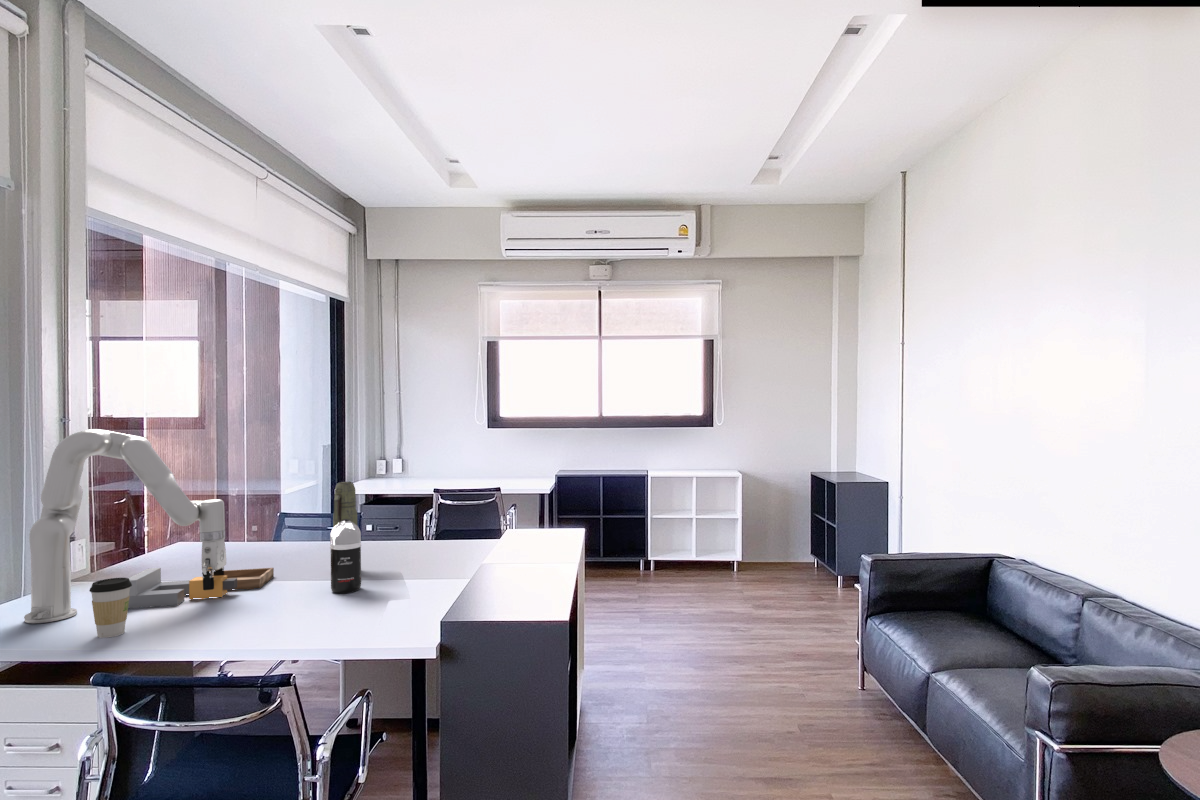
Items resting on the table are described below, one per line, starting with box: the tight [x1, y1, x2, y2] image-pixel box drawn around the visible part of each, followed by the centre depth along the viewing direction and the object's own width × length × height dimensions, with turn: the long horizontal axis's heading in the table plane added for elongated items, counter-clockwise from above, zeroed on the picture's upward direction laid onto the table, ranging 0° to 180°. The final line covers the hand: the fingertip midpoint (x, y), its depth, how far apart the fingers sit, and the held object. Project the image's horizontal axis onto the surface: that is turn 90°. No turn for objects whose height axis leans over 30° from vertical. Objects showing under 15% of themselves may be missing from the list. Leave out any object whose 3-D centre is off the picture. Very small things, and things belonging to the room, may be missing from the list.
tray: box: [213, 567, 275, 590], centre depth 247 cm, size 18×20×4 cm
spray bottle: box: [329, 519, 362, 594], centre depth 236 cm, size 10×10×25 cm
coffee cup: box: [89, 577, 132, 639], centre depth 192 cm, size 10×10×15 cm
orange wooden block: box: [188, 575, 237, 599], centre depth 231 cm, size 6×14×6 cm, turn 101°
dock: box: [128, 567, 191, 609], centre depth 228 cm, size 18×16×9 cm
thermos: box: [332, 481, 358, 528], centre depth 264 cm, size 9×12×35 cm
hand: (213, 585), depth 231 cm, fingers open, 9 cm apart
